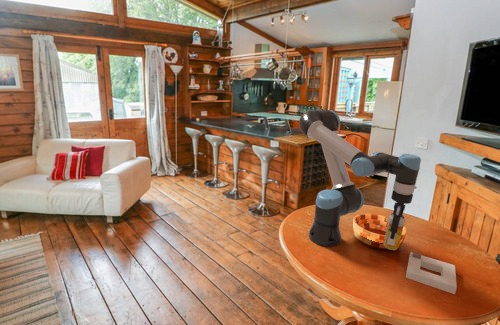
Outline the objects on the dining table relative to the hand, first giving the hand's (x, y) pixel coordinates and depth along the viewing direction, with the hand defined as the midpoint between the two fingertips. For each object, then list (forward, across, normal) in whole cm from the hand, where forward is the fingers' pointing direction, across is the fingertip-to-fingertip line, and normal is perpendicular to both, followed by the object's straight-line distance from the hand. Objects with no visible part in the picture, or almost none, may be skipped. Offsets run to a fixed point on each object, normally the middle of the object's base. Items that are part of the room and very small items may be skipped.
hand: (391, 241), depth 124 cm
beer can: (+3, 0, 0) cm, 3 cm away
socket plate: (+7, -4, -16) cm, 18 cm away
